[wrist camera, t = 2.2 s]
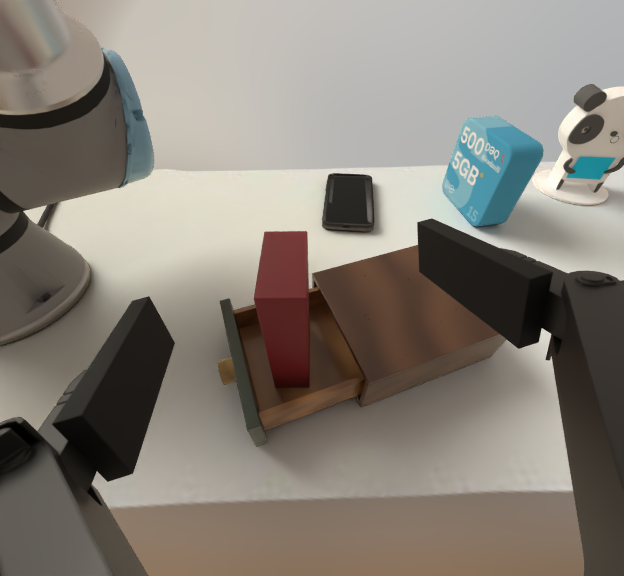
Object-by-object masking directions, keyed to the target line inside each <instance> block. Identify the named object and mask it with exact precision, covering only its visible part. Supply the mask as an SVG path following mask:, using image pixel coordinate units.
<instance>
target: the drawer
mask: <svg viewBox="0 0 624 576" xmlns="http://www.w3.org/2000/svg"><path fill="white" fill-rule="evenodd" d="M220 305H221V309H222V314H223V319H224V323H225V328H226V333H227V337H228V342H229V347H230V352H231V356H232V357H229V358H226V359H223V360H220V361H218V368H219V372H220V376H221V379H222V382H223V384H224V385H225V384H228V383H231V382H234V381H237V384H238V389H239V394H240V398H241V403H242V408H243V413H244V417H245V422H246V427H247V430H248V432H249V434H250V436H251V438H252V439H253V441H254V443H255V445H256V447H258V446H260V445H263V444H265V443H267V442H268V441H267V437H266V433H265V431H266V430H268V429H271V428H273V427H276V426H279V425H281V424H284V423H287V422H289V421H292V420H294V419H297V418H300V417H302V416H305V415H308V414H310V413H313V412H316V411H318V410H321V409H323V408H326V407H329V406H331V405H334V404H337V403H339V402H342V401H344V400H347V399H350V398H352V397H355V396H358V395H360V394H362V390H363V387H364V384H365V378H364V377H363V375H362V373H361V371H360V369H359V367H358V365H357V363H356V361H355V359H354V357H353V355H352V353H351V351H350V349H349V347H348V345H347V343H346V341H345V339H344V337H343V335H342V334H341V332H340V330H339V328H338V326H337V324H336V322H335V320H334V318H333V316H332V314H331V312H330V310H329V308H328V306H327V304H326V302H325V300H324V298H323V296H322V294H321V293H320V291H319V289H318V287H315V288H312V289H309V324H310V387H306V388H275V385H274V381H273V377H272V372H271V368H270V364H269V360H268V356H267V352H266V347H265V343H264V339H263V335H262V331H261V326H260V322H259V318H258V314H257V310H256V305H251V306H248V307H244V308H241V309H237V310H233V307H232V304H231V301H230V299H225V300H222V301H220Z"/></svg>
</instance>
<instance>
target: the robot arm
mask: <svg viewBox="0 0 624 576" xmlns="http://www.w3.org/2000/svg"><path fill="white" fill-rule="evenodd" d="M153 168H154V152H153V146H152V142H151V137H150V133H149V129H148V126H147V122H146V120H145V118H144V116H143V111H142V107H141V104H140V100H139V97H138V94H137V91H136V88H135V86H134V83H133V81H132V78H131V76H130V74H129V72H128V70H127V68H126V66H125V64H124V62H123V60H122V59H121V57H120V56H119V55H118V54H117V53H116V52H114V51H112V50H106V49H104V48H101V47H100V45H99V43H98V41H97V39H96V37H95V36H94V35H93V33H92V32H91V31H90V30H89V29H88V28H87V27H86V26H85V25H84V24H83V23H81V22H80V21H79V20H77V19H76V18H75V17H73V16H72V15H70V14H68V13H66V12H65V11H63V10H62V9H61V7H60V5H59V3H58V1H57V0H0V345H3V344H7V343H10V342H13V341H16V340H19V339H22V338H24V337H27V336H29V335H31V334H33V333H35V332H37V331H39V330H41V329H43V328H45V327H46V326H48V325H50V324H51V323H53V322H54V321H56V320H57V319H59V318H60V317H61V316H62V315H64V314H65V313H66V312H67V311H69V310H70V309H71V308H72V307H73V306H74V305H75V304H76V303H77V302H78V300H79V299H80V298H81V297H82V295H83V294H84V292H85V291H86V289H87V287H88V284H89V282H90V277H91V271H90V267H89V265H88V263H87V262H86V261H85V260H84V258H83V257H82V256H81V254H79V253H78V252H77V251H76V250H75V249H74V248H72V247H71V246H69V245H68V244H66V243H64V242H63V241H61V240H60V239H58V238H57V237H55V236H54V235H52V234H51V233H49V232H48V231H46V230H45V229H43V226H44V225H45V222H46V220H47V218H48V216H49V214H50V212H51V211H52V209H53V207H54V204H55V203H57V202H61V201H65V200H70V199H74V198H78V197H82V196H86V195H90V194H94V193H98V192H102V191H106V190H110V189H114V188H122V187H124V186H125V185H126V184H128V183H131V182H135V181H138V180H141V179H144V178H146V177H148V176H149V175H150V174H151V172H152V170H153ZM45 205H47V207H46V209H45V211H44V212H43V214H42V216H41V218H40V220H39V222H38V224H35V223H34V222H32V221H31V220H30V219H29V218H28V217H27V216H26V214H25V213H24V212H23V211H25V210H29V209H33V208H37V207H41V206H45ZM417 225H418V254H419V272H420V273H421V274H423V275H424V276H425V277H427V278H428V279H429V280H430V281H432V282H433V283H434V284H436V285H437V286H438V287H439V288H441V289H442V290H443V291H445V292H446V293H447V294H449V295H450V296H451V297H452V298H454V299H455V300H456V301H458V302H459V303H460V304H461V305H463V306H464V307H465V308H467V309H468V310H469V311H470V312H472V313H473V314H474V315H476V316H477V317H478V318H480V319H481V320H482V321H483V322H485V323H486V324H487V325H489V326H490V327H491V328H492V329H494V330H495V331H496V332H498V333H499V334H500V335H502V336H503V337H504V338H505V339H507V340H508V341H509V342H511V343H512V344H513V345H514V346H516V347H517V348H518V349H519V348H522V347H525V346H528V345H532V344H535V343H538V342H539V338H540V333H541V328H543V329H545V330H546V331H548V332H549V333H551V334H552V335H551V339H550V343H549V347H548V352H547V356H546V360H550V358H551V356H552V361H553V368H554V374H555V380H556V386H557V392H558V399H559V405H560V411H561V417H562V424H563V430H564V436H565V442H566V448H567V455H568V461H569V467H570V473H571V479H572V486H573V492H574V497H575V504H576V510H577V517H578V522H579V529H580V535H581V541H582V547H583V554H584V576H624V280H623V281H619V280H618V279H617V278H615V277H613V276H611V275H609V274H605V273H601V272H595V271H576V272H571V273H569V274H568V273H565V272H563V271H561V270H558V269H556V268H554V267H551V266H549V265H547V264H544V263H542V262H540V261H536V260H535V259H533V258H530V257H527V256H526V255H523V254H521V253H519V252H516V251H512V250H507V249H502V248H498V247H495V246H493V245H491V244H488V243H486V242H484V241H482V240H479V239H477V238H475V237H473V236H470V235H468V234H466V233H464V232H461V231H459V230H457V229H454V228H452V227H450V226H448V225H445V224H443V223H441V222H439V221H436V220H434V219H428V220H425V221H421V222H417ZM174 344H175V342H174V341H173V339H172V337H171V335H170V333H169V331H168V330H167V328H166V326H165V324H164V322H163V321H162V319H161V317H160V315H159V313H158V311H157V310H156V308H155V306H154V304H153V302H152V301H151V299H150V297H145V298H142V299H138V300H134V301H132V302H131V304H130V305H129V307H128V308H127V310H126V311H125V313H124V314H123V316H122V317H121V319H120V321H119V322H118V324H117V325H116V327H115V328H114V330H113V331H112V333H111V334H110V336H109V337H108V339H107V340H106V342H105V343H104V345H103V346H102V348H101V350H100V351H99V353H98V354H97V356H96V357H95V359H94V360H93V362H92V363H91V365H90V366H89V368H88V369H87V370H84V371H83V372H82V373H81V374H80V375H79V376H78V377H76V378H75V379H74V380H73V381H72V382H71V383H70V385H69V386H68V388H67V389H66V391H65V392H64V394H63V396H62V397H61V398H60V399H59V401H58V402H57V406H55V407H54V408H53V410H52V411H51V413H50V414H49V415H48V417H47V418H46V420H45V421H44V423H43V424H42V426H41V427H40V429H39V430H38V432H37V431H36V430H35V429H34V428H33V427H32V426H31V425H30V424H29V423H28V422H27V421H26V420H25V419H23V418H22V417H17V418H11V419H8V420H6V421H3V422H1V423H0V576H148V574H147V572H146V571H145V569H144V567H143V566H142V564H141V562H140V561H139V559H138V557H137V556H136V554H135V552H134V551H133V549H132V547H131V545H130V544H129V542H128V540H127V539H126V537H125V536H124V534H123V532H122V530H121V529H120V527H119V525H118V524H117V522H116V520H115V519H114V517H113V515H112V514H111V512H110V510H109V509H108V507H107V505H106V503H105V502H104V500H103V498H102V497H101V495H100V493H99V492H98V490H97V489H96V488H95V487H94V486H93V485H92V481H93V479H94V477H95V474H96V472H97V471H98V472H99V473H100V474H101V475H102V477H103V478H104V479H105V480H106V481H107V482H108V481H112V480H115V479H118V478H121V477H124V476H127V475H130V474H133V472H134V469H135V466H136V463H137V459H138V456H139V453H140V450H141V447H142V444H143V441H144V438H145V434H146V431H147V428H148V425H149V422H150V419H151V416H152V413H153V409H154V406H155V403H156V400H157V397H158V394H159V391H160V388H161V384H162V381H163V378H164V375H165V372H166V369H167V366H168V362H169V359H170V356H171V353H172V350H173V347H174Z"/></svg>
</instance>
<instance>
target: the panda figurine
mask: <svg viewBox="0 0 624 576" xmlns="http://www.w3.org/2000/svg"><path fill="white" fill-rule="evenodd" d="M574 103H576V104H577V106H576V107H575V108H574V109H573V110H572V111H571V112H570V113H569V114H568V115H567V116H566V117H565V119H564V120H563V122H562V123H561V125H560V127H559V131H558V139H559V142H560V144H561V146H562V147H563V151H562V153H561V155H560V157H559V159H558V161H557V162H556V164H555V166H554V168H553V169H551V170H543V171H540V172H537V173H536V174H535V175H534V177H533V179H532V181H533V184H534V186H535V187H536V188H537V189H538V190H539V191H541V192H542V193H544V194H546V195H547V196H549V197H552V198H554V199H557V200H559V201H563V202H566V203H571V204H576V205H597V204H600V203H603V202H604V201H605V200H606V199H607V198H608V191H607V190H606V188H605V187H604V186H603V185H602V184H603V183H604V181H605V180H606V178H607V177H608V176H609V174H610V173H612V172H615V171H617V170H619V169H620V168H621V167H622V166H623V165H624V87H613V88H608V89H604V90H600V89H599V88H598V87H596V86H595V85H593V84H589V85H586V86H584V87H582V88H581V89H580V90H579V91H578V92H577V93H576V95H575V96H574ZM617 164H618V165H617ZM616 165H617V166H616Z"/></svg>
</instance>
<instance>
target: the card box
mask: <svg viewBox="0 0 624 576" xmlns="http://www.w3.org/2000/svg"><path fill="white" fill-rule="evenodd" d="M254 301H255V305H256V310H257V314H258V318H259V322H260V326H261V331H262V335H263V339H264V343H265V347H266V352H267V356H268V360H269V364H270V368H271V372H272V377H273V381H274V385H275V388H306V387H310V324H309V282H308V240H307V231H288V232H264V238H263V244H262V251H261V257H260V263H259V269H258V276H257V282H256V288H255V294H254Z"/></svg>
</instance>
